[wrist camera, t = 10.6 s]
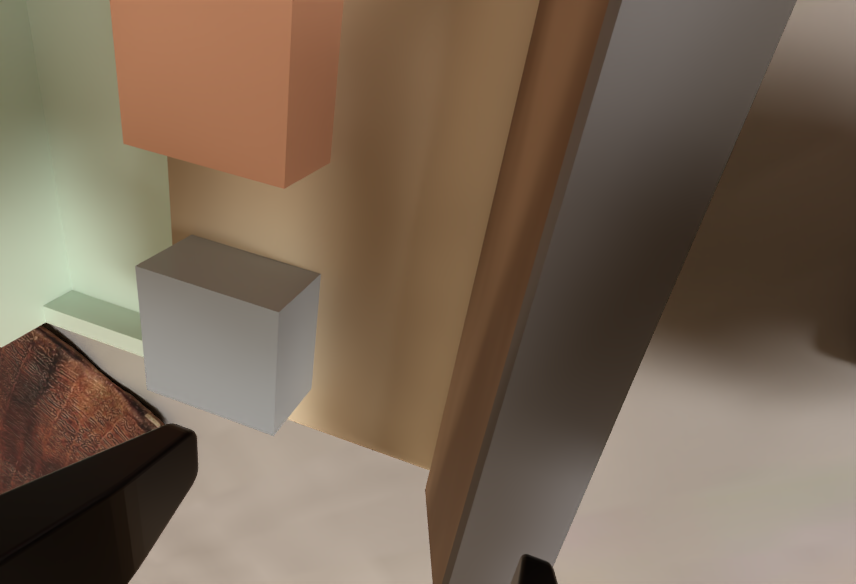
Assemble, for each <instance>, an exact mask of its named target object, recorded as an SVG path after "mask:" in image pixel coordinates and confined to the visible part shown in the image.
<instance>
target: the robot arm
mask: <svg viewBox="0 0 856 584" xmlns="http://www.w3.org/2000/svg"><path fill="white" fill-rule="evenodd" d="M197 472H198V450H197V436H196V434H195V432H194V431H193V430H190V429H188V428H185V427H182V426H180V425H177V424H166V425H163V426H161V427H159V428H156V429H154V430H151V431H149V432H147V433H144V434H142V435H140V436H137V437H135V438H133V439H130V440H128V441H125V442H123V443H121V444H118V445H116V446H114V447H111V448H109V449H106V450H104V451H102V452H99V453H97V454H95V455H92V456H90V457H88V458H85V459H83V460H80V461H78V462H76V463H73V464H71V465H69V466H66V467H64V468H61V469H59V470H57V471H54V472H52V473H50V474H47V475H45V476H43V477H40V478H38V479H35V480H33V481H31V482H28V483H26V484H24V485H21V486H19V487H17V488H14V489H12V490H9V491H7V492H5V493H2V494H0V584H128V582H129V581H130V580H131V578H132V577H133V576H134V574H135V573H136V572H137V570H138V569H139V567H140V566H141V564H142V563H143V561H144V560H145V558H146V557H147V555H148V554H149V552H150V550H151V549H152V547H153V546H154V544H155V543H156V541H157V540H158V538H159V536H160V535H161V533H162V532H163V530H164V529H165V527H166V525H167V524H168V522H169V521H170V519H171V518H172V516H173V514H174V513H175V511H176V510H177V508H178V507H179V505H180V504H181V502H182V500H183V499H184V497H185V496H186V494H187V493H188V491H189V489H190V488H191V486H192V485H193V483H194V481H195V479H196V476H197ZM511 584H558V583H557V580H556V576H555V572H554V569H553V567H552V565H551V564H550V563H549V562H547V561H545V560H542V559H540V558H537V557H534V556H531V555H529V554H523V555H522V556H521V558H520V560H519V563H518V565H517V568H516V570H515V573H514V576H513V578H512V581H511Z"/></svg>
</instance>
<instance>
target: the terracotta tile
mask: <svg viewBox="0 0 856 584" xmlns="http://www.w3.org/2000/svg"><path fill="white" fill-rule="evenodd" d="M343 2H344V0H110V10H111V20H112V31H113V41H114V52H115V62H116V72H117V83H118V93H119V104H120V114H121V124H122V135H123V144H126V145H129V146H133V147H136V148H140V149H144V150H147V151H151V152H154V153H158V154H161V155H165V156H169V157H172V158H176V159H179V160H183V161H186V162H190V163H194V164H197V165H201V166H204V167H208V168H211V169H215V170H219V171H222V172H226V173H229V174H233V175H236V176H240V177H244V178H247V179H251V180H254V181H258V182H261V183H265V184H268V185H272V186H276V187H279V188H283V189H285V188H287V187H289V186H290V185H292V184H294V183H296V182H297V181H299V180H301V179H303V178H304V177H306V176H308V175H310V174H311V173H313V172H315V171H317V170H318V169H320V168H322V167H324V166H325V165H327V164H329V163H330V159H331V147H332V135H333V123H334V111H335V99H336V87H337V75H338V62H339V50H340V38H341V26H342V14H343Z"/></svg>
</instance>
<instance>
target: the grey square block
mask: <svg viewBox="0 0 856 584" xmlns="http://www.w3.org/2000/svg"><path fill="white" fill-rule="evenodd" d="M135 270H136V280H137V290H138V301H139V311H140V322H141V332H142V342H143V353H144V363H145V373H146V384H147V390H149V391H152V392H155V393H157V394H160V395H163V396H165V397H168V398H171V399H174V400H176V401H179V402H182V403H185V404H187V405H190V406H193V407H195V408H198V409H201V410H204V411H206V412H209V413H212V414H215V415H217V416H220V417H223V418H226V419H228V420H231V421H234V422H236V423H239V424H242V425H245V426H247V427H250V428H253V429H256V430H258V431H261V432H264V433H266V434H269V435H272V436H274V435H275V434H276V432H277V431H278V430H279V429H280V427H281V426H282V425H283V424H284V422H285V421H286V420H287V419H288V417H289V416H290V415H291V414H292V412H293V411H294V410H295V409H296V407H297V406H298V405H299V404H300V402H301V401H302V400H303V399H304V397H305V396H306V395H307V394H308V392H309V391H310V390H311V388H312V376H313V364H314V352H315V340H316V328H317V316H318V304H319V292H320V280H321V274H319V273H316V272H313V271H310V270H306V269H303V268H300V267H297V266H293V265H290V264H287V263H283V262H280V261H277V260H274V259H270V258H267V257H264V256H261V255H257V254H254V253H251V252H247V251H244V250H241V249H238V248H234V247H231V246H228V245H225V244H221V243H218V242H215V241H211V240H208V239H205V238H202V237H198V236H195V235H190V236H188V237H186V238H185V239H183V240H181V241H179V242H177V243H176V244H174V245H172V246H170V247H168V248H167V249H165V250H163V251H161V252H159V253H158V254H156V255H154V256H152V257H150V258H149V259H147V260H145V261H143V262H141V263H140V264H138V265H136V266H135Z"/></svg>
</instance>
